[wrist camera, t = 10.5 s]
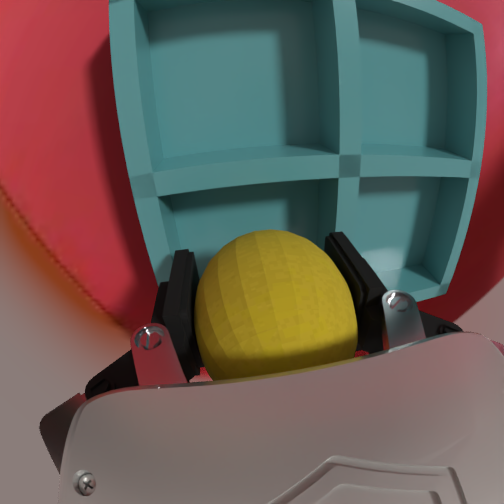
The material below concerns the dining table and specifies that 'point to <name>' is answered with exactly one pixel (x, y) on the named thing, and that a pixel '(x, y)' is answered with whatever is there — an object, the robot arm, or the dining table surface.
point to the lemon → (272, 308)
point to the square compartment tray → (303, 127)
